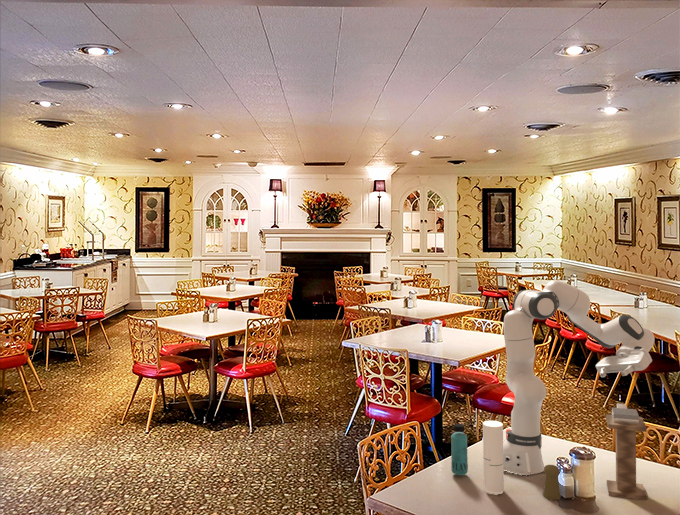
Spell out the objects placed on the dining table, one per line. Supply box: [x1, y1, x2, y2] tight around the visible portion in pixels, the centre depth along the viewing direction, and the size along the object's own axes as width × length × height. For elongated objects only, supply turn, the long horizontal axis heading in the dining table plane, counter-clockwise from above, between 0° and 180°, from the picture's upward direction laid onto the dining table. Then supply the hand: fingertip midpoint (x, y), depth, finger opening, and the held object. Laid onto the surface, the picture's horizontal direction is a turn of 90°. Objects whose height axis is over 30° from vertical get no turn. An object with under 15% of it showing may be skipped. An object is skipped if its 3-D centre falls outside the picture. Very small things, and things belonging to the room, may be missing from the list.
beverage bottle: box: [450, 423, 469, 476], centre depth 223 cm, size 6×7×20 cm
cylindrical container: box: [482, 420, 505, 492], centre depth 208 cm, size 7×7×25 cm
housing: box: [611, 402, 640, 424], centre depth 210 cm, size 8×18×3 cm, turn 159°
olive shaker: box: [542, 464, 562, 501], centre depth 203 cm, size 6×6×11 cm
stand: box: [605, 413, 648, 501], centre depth 205 cm, size 12×12×26 cm
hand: (612, 375), depth 219 cm, fingers open, 8 cm apart
